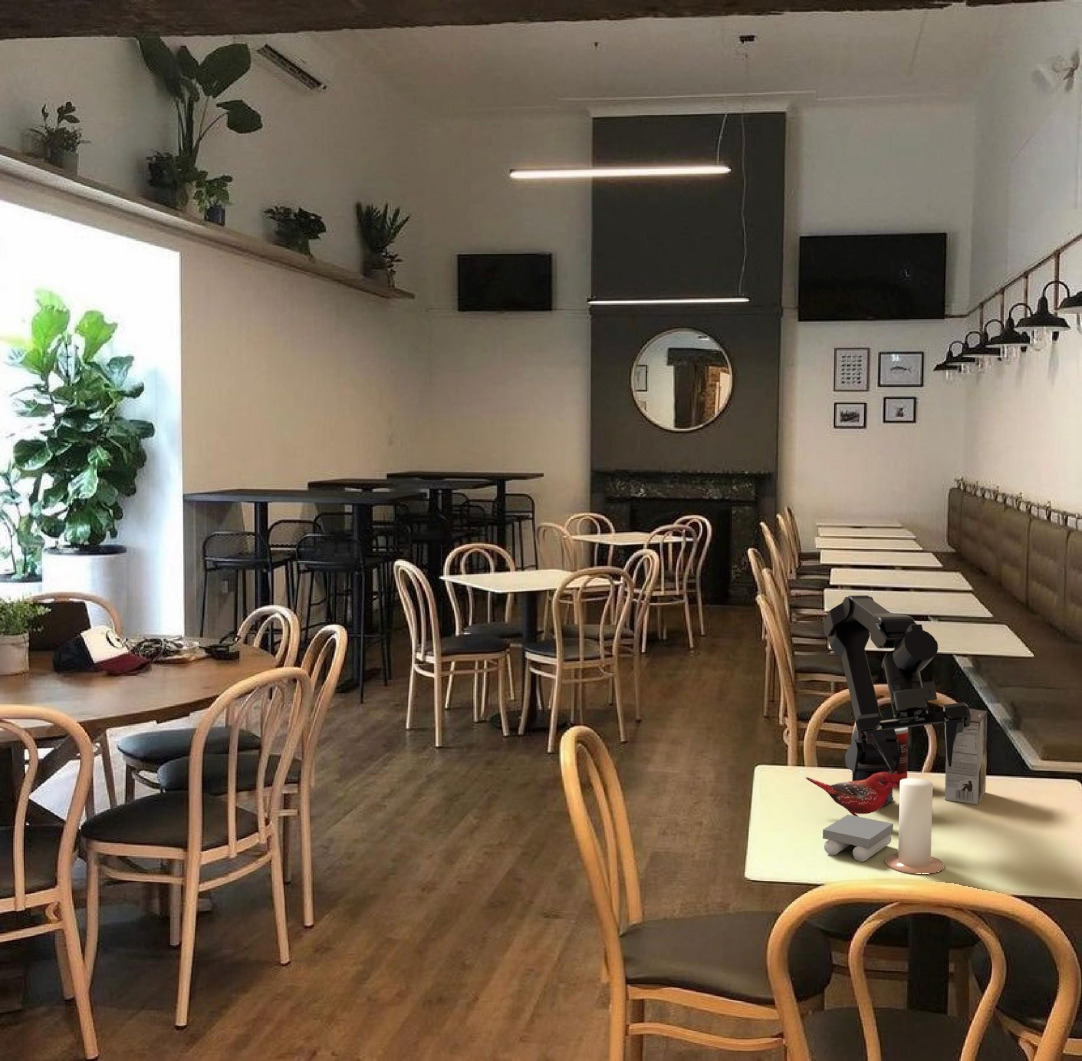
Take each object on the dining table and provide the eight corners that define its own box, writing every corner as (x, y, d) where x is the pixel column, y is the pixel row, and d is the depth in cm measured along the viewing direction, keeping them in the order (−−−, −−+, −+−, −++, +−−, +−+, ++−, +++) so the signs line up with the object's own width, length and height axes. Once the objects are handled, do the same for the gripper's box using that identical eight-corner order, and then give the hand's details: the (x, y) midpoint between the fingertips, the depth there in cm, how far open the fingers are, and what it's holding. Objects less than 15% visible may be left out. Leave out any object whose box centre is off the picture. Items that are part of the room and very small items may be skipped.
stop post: (891, 860, 197) (893, 781, 196) (911, 854, 200) (913, 776, 199) (917, 869, 193) (919, 788, 192) (937, 863, 196) (939, 783, 195)
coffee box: (951, 787, 238) (953, 706, 237) (986, 792, 235) (988, 709, 234) (943, 800, 230) (945, 716, 229) (979, 805, 227) (981, 719, 226)
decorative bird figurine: (893, 832, 212) (894, 776, 211) (801, 812, 223) (802, 758, 222) (900, 828, 214) (901, 772, 213) (808, 808, 225) (809, 755, 225)
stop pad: (876, 866, 195) (876, 863, 195) (897, 851, 202) (898, 848, 202) (932, 878, 190) (932, 876, 190) (952, 862, 197) (952, 860, 197)
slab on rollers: (822, 853, 201) (822, 829, 201) (847, 837, 209) (847, 814, 209) (868, 863, 197) (869, 839, 196) (892, 846, 204) (893, 823, 204)
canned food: (860, 775, 247) (861, 722, 246) (898, 774, 248) (899, 721, 247) (873, 786, 239) (874, 731, 238) (913, 785, 240) (914, 730, 239)
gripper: (847, 674, 208) (863, 762, 200) (961, 658, 204) (981, 748, 196) (850, 696, 217) (865, 781, 210) (959, 681, 213) (978, 768, 206)
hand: (921, 770), depth 205 cm, fingers open, 9 cm apart
